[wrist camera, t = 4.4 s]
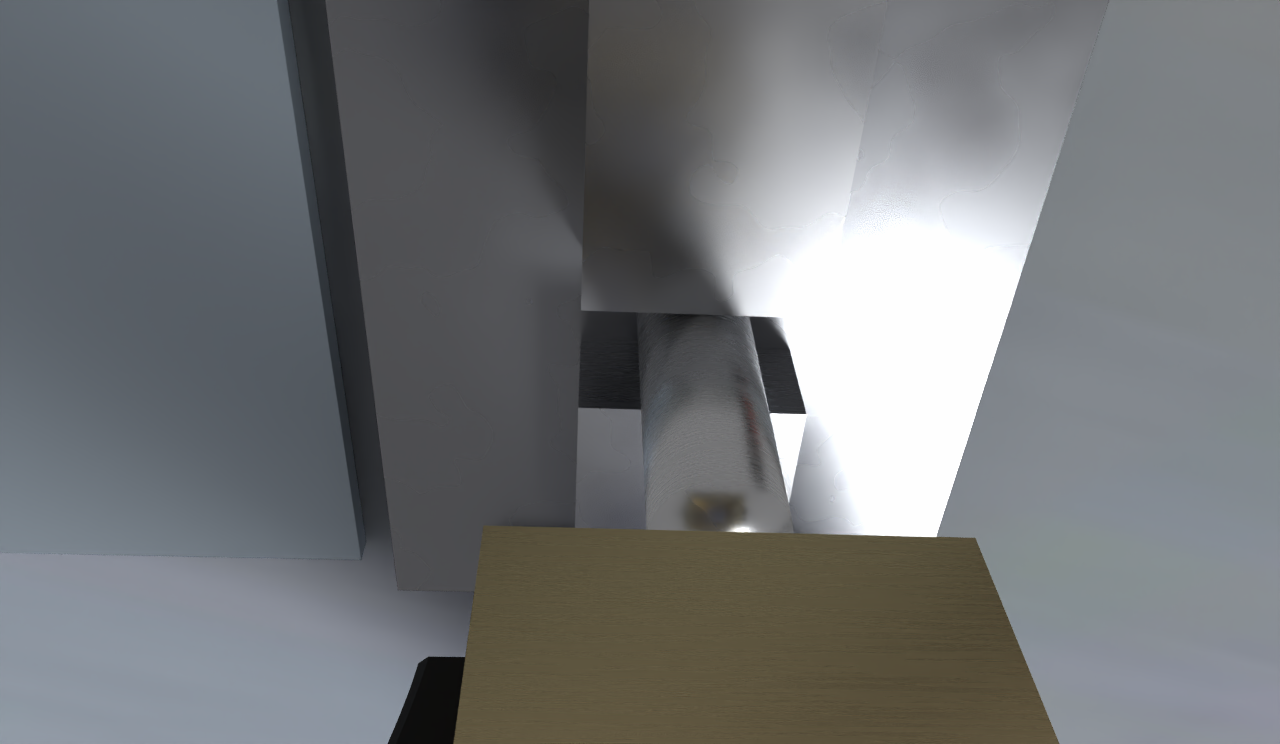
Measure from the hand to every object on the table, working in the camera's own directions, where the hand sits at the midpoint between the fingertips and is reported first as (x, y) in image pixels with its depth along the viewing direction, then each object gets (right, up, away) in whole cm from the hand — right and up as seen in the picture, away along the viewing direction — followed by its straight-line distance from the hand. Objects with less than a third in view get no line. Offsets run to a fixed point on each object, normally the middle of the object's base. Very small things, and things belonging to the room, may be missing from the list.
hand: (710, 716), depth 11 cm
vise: (0, +6, +8) cm, 10 cm away
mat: (-12, +6, +8) cm, 16 cm away
